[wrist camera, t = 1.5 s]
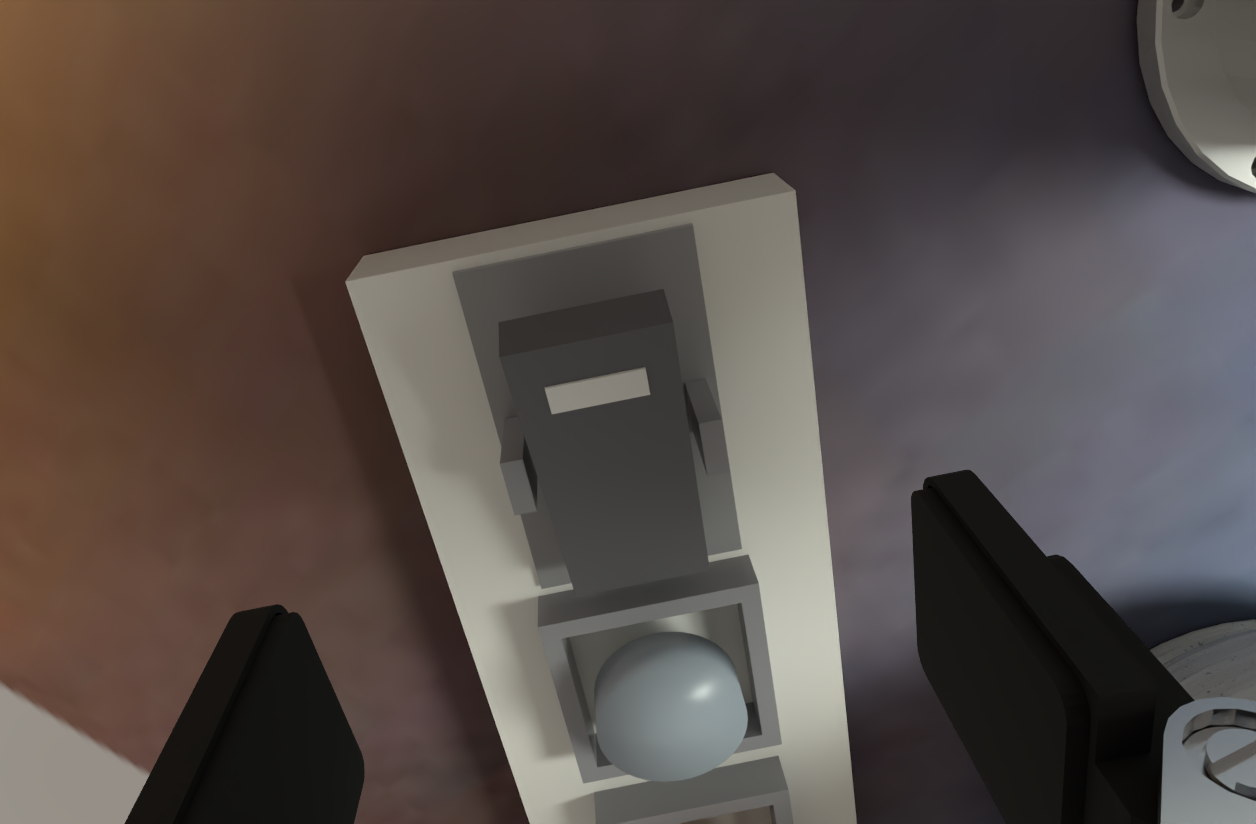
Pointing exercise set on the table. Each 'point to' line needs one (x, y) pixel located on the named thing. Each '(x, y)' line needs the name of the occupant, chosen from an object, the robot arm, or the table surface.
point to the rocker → (609, 438)
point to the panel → (726, 478)
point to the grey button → (669, 707)
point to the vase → (1214, 660)
